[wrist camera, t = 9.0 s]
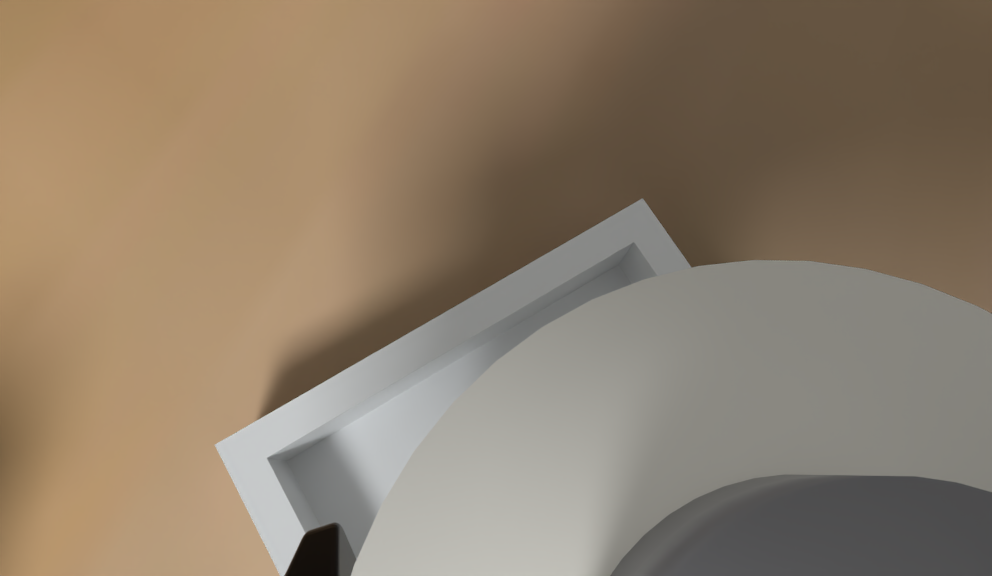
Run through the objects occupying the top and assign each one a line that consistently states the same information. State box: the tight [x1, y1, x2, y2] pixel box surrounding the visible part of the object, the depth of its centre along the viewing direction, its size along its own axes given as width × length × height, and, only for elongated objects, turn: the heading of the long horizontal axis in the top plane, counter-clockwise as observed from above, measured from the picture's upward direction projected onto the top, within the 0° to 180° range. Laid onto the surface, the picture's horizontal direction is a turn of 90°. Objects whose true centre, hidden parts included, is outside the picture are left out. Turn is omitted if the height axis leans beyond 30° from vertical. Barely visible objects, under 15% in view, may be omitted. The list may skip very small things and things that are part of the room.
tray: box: [215, 198, 692, 576], centre depth 16 cm, size 11×11×2 cm
